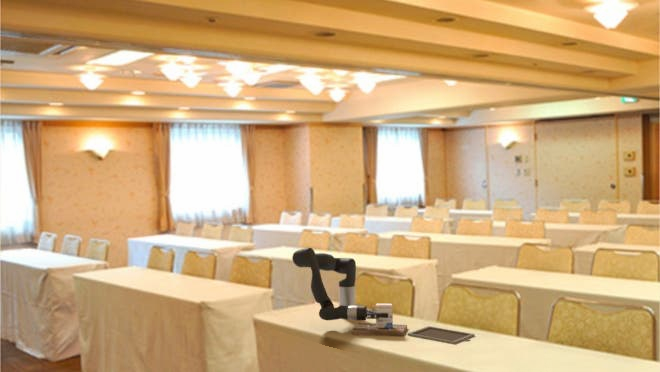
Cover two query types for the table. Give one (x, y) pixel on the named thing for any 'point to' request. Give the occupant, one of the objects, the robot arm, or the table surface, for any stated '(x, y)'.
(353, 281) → the robot arm
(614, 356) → the table surface
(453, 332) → the grey framed brown panel
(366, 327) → the walnut board
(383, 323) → the ink box
